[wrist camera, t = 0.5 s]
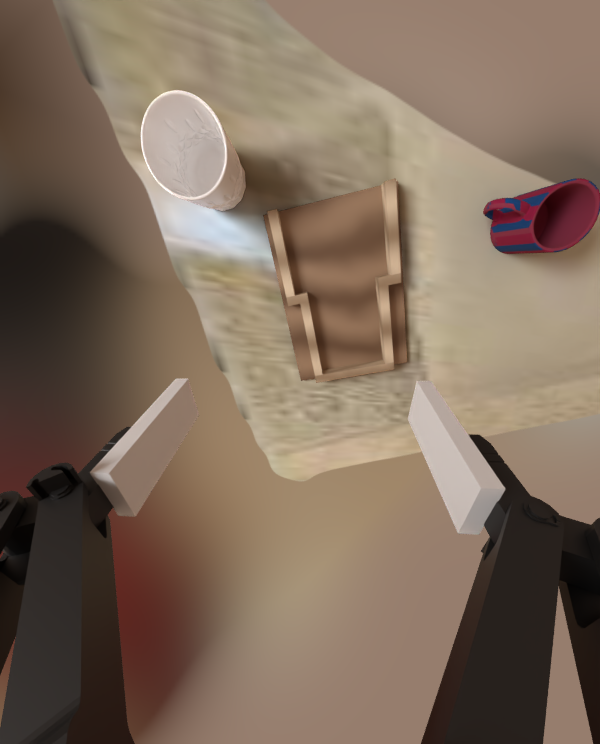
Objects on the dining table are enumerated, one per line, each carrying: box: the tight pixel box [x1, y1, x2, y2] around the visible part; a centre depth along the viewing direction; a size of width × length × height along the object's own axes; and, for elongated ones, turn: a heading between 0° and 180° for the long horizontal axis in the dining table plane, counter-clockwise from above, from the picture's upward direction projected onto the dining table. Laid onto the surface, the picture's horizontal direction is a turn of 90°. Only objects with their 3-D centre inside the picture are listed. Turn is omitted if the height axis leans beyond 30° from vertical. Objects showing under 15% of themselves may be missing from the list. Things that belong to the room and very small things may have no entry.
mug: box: [483, 179, 600, 254], centre depth 30 cm, size 7×10×7 cm
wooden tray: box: [263, 179, 407, 383], centre depth 36 cm, size 24×17×3 cm
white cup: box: [141, 90, 246, 211], centre depth 28 cm, size 8×8×10 cm
